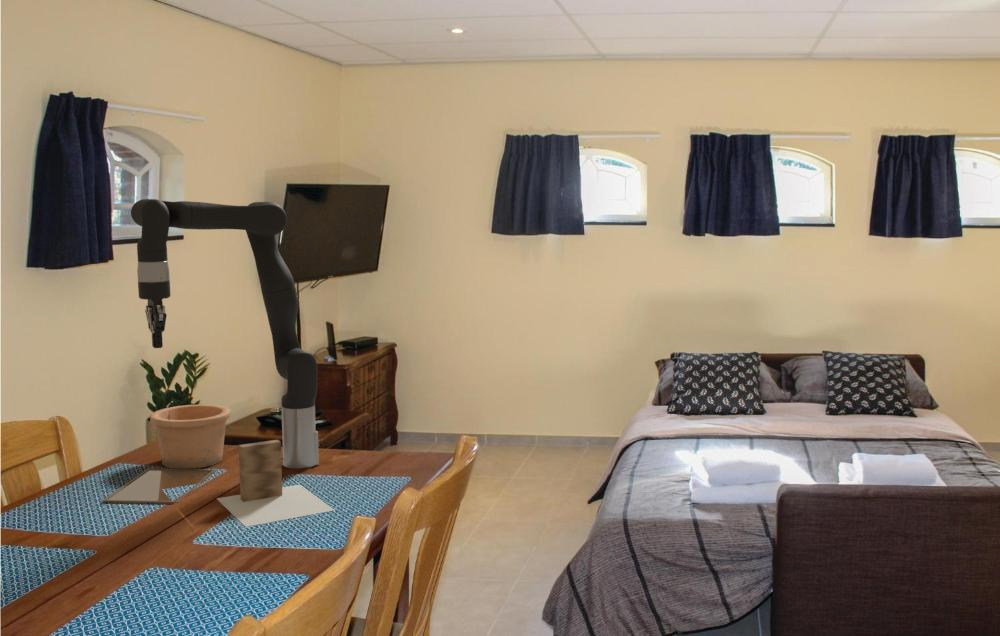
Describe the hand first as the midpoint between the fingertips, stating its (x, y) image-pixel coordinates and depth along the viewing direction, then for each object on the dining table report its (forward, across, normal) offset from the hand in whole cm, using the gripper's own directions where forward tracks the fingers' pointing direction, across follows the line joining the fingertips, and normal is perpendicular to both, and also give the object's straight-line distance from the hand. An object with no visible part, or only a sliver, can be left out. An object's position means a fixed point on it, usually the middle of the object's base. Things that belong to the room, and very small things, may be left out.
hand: (157, 347), depth 240 cm
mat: (+38, -25, -21) cm, 50 cm away
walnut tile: (+38, -18, -20) cm, 46 cm away
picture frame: (+39, +6, 0) cm, 39 cm away
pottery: (+38, +26, -13) cm, 49 cm away
